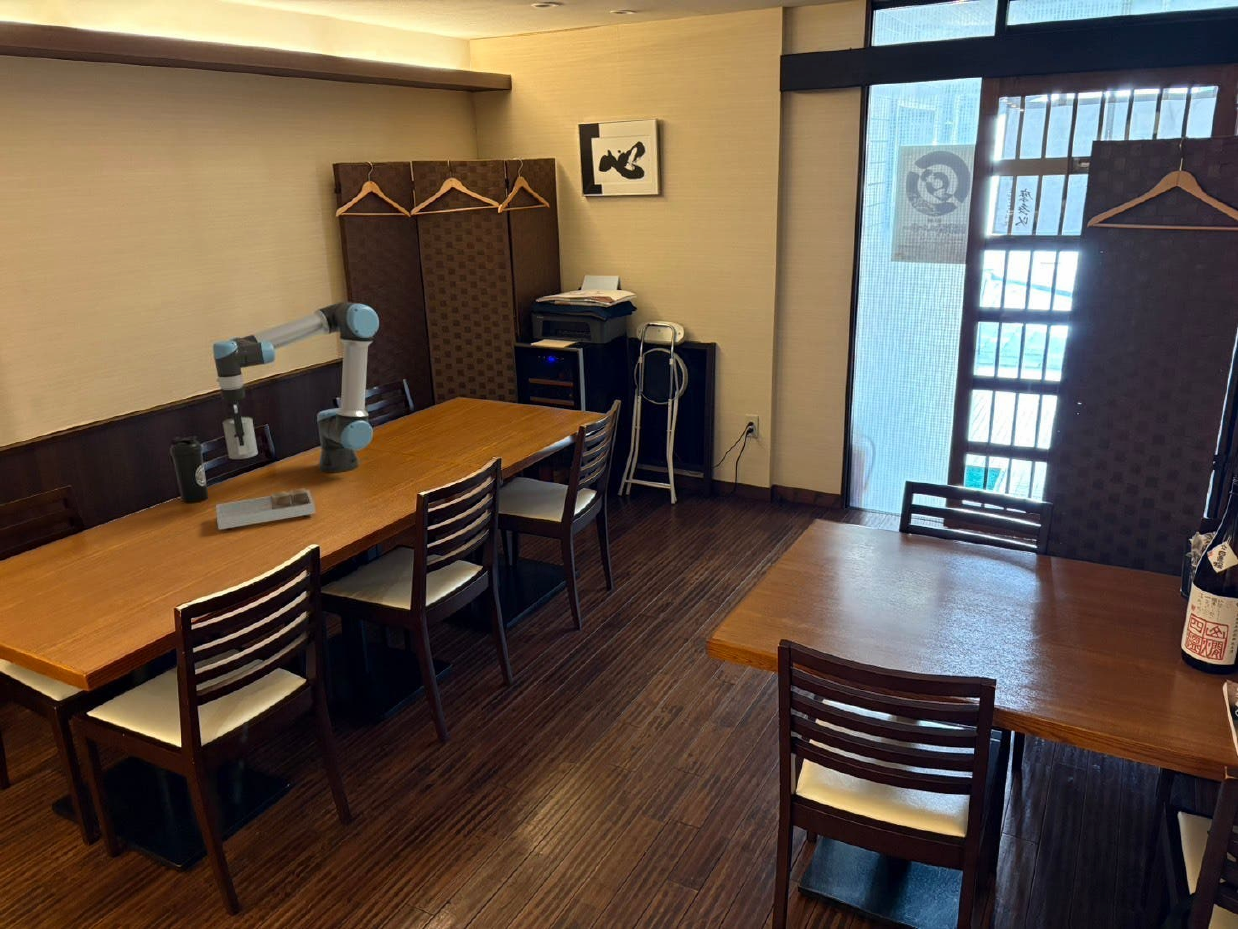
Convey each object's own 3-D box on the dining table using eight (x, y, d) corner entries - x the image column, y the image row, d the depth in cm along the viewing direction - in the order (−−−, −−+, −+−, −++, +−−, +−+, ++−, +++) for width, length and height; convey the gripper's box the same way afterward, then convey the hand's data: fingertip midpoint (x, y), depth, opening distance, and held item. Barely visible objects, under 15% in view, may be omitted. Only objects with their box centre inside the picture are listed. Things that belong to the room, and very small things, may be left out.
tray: (310, 503, 315) (308, 489, 313) (316, 517, 302) (314, 503, 300) (218, 518, 303) (215, 504, 302) (219, 533, 290) (217, 519, 289)
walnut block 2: (307, 501, 309) (305, 488, 308) (308, 506, 305) (306, 492, 303) (291, 504, 307) (289, 490, 306) (293, 509, 303) (291, 495, 301)
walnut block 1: (287, 504, 307) (285, 491, 306) (291, 508, 303) (289, 495, 302) (272, 508, 305) (269, 494, 303) (276, 512, 301) (273, 498, 299)
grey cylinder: (263, 450, 316) (257, 416, 312) (249, 459, 307) (243, 424, 303) (237, 450, 317) (231, 416, 313) (223, 459, 308) (217, 424, 304)
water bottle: (203, 504, 317) (191, 442, 310) (174, 504, 317) (162, 442, 310) (215, 494, 327) (204, 433, 319) (188, 494, 327) (176, 434, 320)
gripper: (218, 382, 313) (229, 443, 320) (220, 395, 293) (232, 460, 301) (242, 379, 315) (252, 440, 323) (245, 392, 296) (256, 457, 303)
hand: (242, 450), depth 312 cm, fingers closed on grey cylinder, 9 cm apart
